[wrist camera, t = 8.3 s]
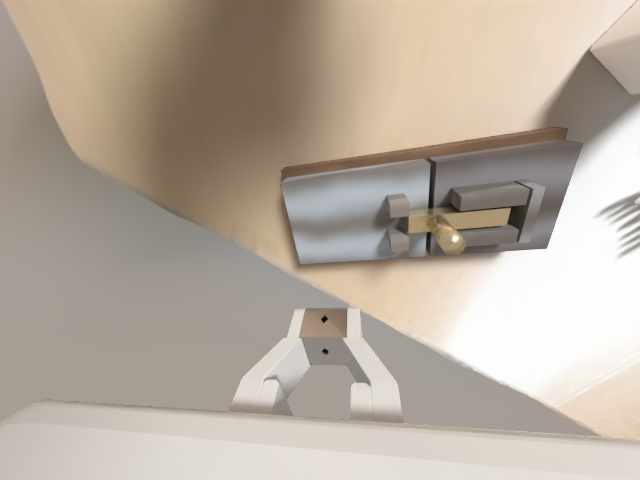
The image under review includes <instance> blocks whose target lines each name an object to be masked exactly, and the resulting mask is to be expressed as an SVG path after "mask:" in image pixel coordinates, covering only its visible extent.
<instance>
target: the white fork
mask: <svg viewBox="0 0 640 480" xmlns="http://www.w3.org/2000/svg"><path fill="white" fill-rule="evenodd" d="M634 203H635V204H640V197H638V198H637V199H636V200H635V201H634ZM639 209H640V208H639Z"/></svg>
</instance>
